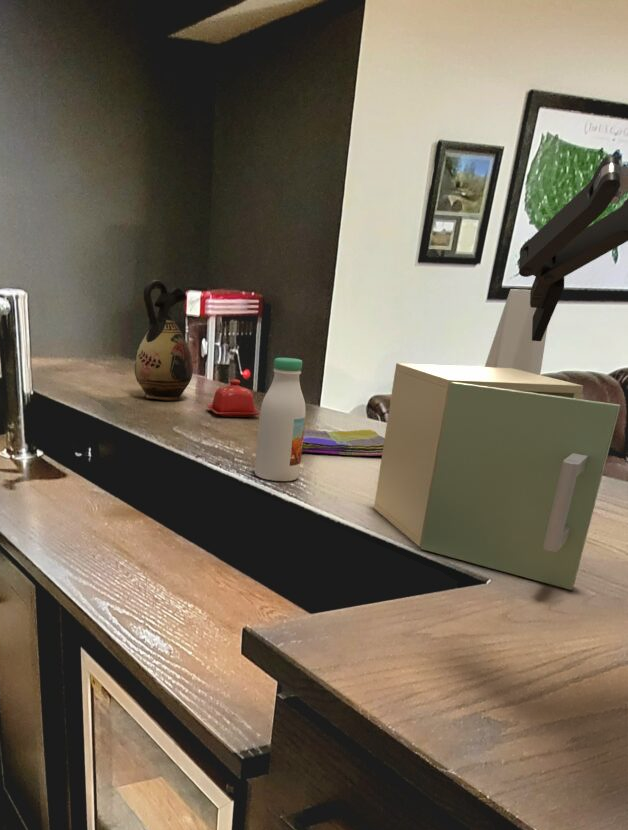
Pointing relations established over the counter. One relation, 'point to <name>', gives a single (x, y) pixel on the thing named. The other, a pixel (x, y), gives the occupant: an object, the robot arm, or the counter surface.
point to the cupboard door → (518, 480)
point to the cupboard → (433, 432)
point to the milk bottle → (281, 424)
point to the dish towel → (343, 442)
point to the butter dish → (233, 401)
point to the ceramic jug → (163, 348)
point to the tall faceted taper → (517, 336)
